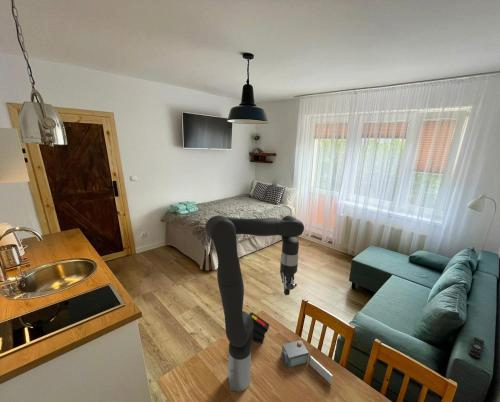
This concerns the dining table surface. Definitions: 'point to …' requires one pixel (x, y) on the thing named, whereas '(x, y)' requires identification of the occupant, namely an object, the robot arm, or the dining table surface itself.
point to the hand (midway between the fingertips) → (286, 294)
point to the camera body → (294, 353)
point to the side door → (320, 369)
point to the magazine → (259, 328)
